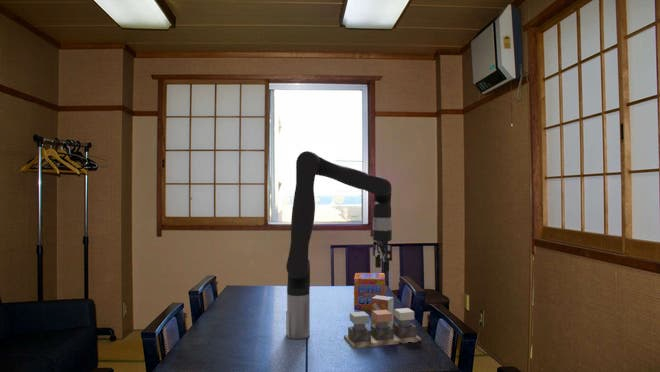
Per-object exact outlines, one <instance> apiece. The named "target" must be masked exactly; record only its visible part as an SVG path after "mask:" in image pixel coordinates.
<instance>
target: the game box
mask: <svg viewBox="0 0 660 372" xmlns="http://www.w3.org/2000/svg"><path fill="white" fill-rule="evenodd" d="M353 284H354V285H353V310H358V311H359V310H360V311H362V310H363V311H371V298H372V297H374V296H376V295H379V296H386V274H385V272H355V274H354V278H353Z"/></svg>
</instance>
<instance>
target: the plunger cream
mask: <svg viewBox="0 0 660 372" xmlns="http://www.w3.org/2000/svg"><path fill="white" fill-rule="evenodd" d="M394 318H396V320H397V321H398V322H397V323H398V325H399V326H400V327H409V326H410V323H411V320H415V311H414V310H413V309H410V308H409V307H405V308H404V307H403V308H394Z"/></svg>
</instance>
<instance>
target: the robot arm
mask: <svg viewBox="0 0 660 372" xmlns="http://www.w3.org/2000/svg"><path fill="white" fill-rule="evenodd" d="M295 174H296V175H295V177H296V178H295V189H294V194H293V200H292V201H293V202H292V210H291V224H290V245H289V246H290V247H289V251H288V257H287V261H286V265H285V266H286V268H285V269H286V272H287V284H286V285H287V286H286V302H287V303H286V312H285V326H286V327H285V330H286V331H285V334H286V336H287V338H288V339H294V340H302V339H306V338H309V337H310V335H311V331H310V329H311V327H310V326H311V322H310V321H311V320H310V319H311V316H310V315H311V313H310V308H311V306H310V301H311V300H310V296H311V295H310V294H311V293H310V289H311V262H310V260H309V246H310V240H311V237H312V234H313V233H312V232H313V228H314V223H315V215H316V214H315V213H316V199H315V198H316V196H315V186H314V185H315V181H316V179H315V177H316V176H321V177H326V178H328V179H331V180H334V181H337V182H340V183H341V184H343V185H346V186H349V187H352V188H354V189H355V188H356V189H358V190H362V191H366V192H368V193H371V194H373V195H374V204H373V220H372V240H373V243H372V256H373V257H374V259H375V261H374V262H375V264H374V265H375V266H374V267H375V268H378V269H379V268H381V267H382V266H383V267H382V269H383V272H384V273H385V272H386V273H387V272H389V271H390V262H392V261H393V245H391V244H389V242H390V241H392V240H393V238H392V237H393V236H392V235H393V234H392V232H393V229H392V228H393V224H392V222H393V221H392V204H391V202H392V184H391V182H390V181H389V180H388V179H385V178H384V177H379V176H377V175H372V174H369V173H367V172H365V171H362V170H359V169H356V168H352V167H348V166H343V165H340V164H336V163H334V162H331V161H328V160H326V159H324V158H322V157H321V156H319V155H318V154H316V153H315V152H312V151H308V150H307V151H302V152H301V153H299V154H298V156H297V158H296V162H295ZM381 258H382V259H381ZM382 261H383V263H382ZM382 264H383V265H382Z"/></svg>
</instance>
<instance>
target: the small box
mask: <svg viewBox="0 0 660 372" xmlns="http://www.w3.org/2000/svg"><path fill="white" fill-rule="evenodd" d="M394 304H395V303H394V296H386V295H385V296H379V295H376V296H374V297H372V298H371V310H370V312H371V313H370V326H371V325H376V321H375V320H374V319H373V318H372V311H376V310H387V311H389V312H390V313H392V321H389V322H388V325H390V326H391V327H393V323H395V322H394V318H395V317H394V309H395V308H394Z"/></svg>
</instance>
